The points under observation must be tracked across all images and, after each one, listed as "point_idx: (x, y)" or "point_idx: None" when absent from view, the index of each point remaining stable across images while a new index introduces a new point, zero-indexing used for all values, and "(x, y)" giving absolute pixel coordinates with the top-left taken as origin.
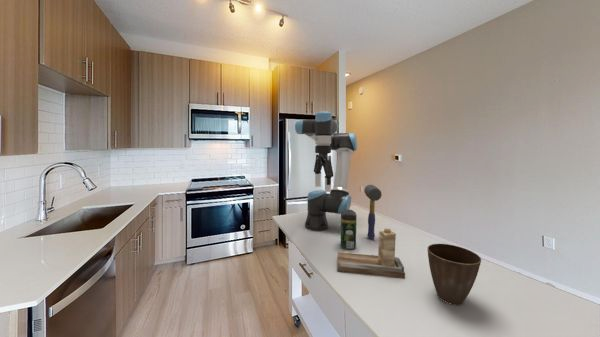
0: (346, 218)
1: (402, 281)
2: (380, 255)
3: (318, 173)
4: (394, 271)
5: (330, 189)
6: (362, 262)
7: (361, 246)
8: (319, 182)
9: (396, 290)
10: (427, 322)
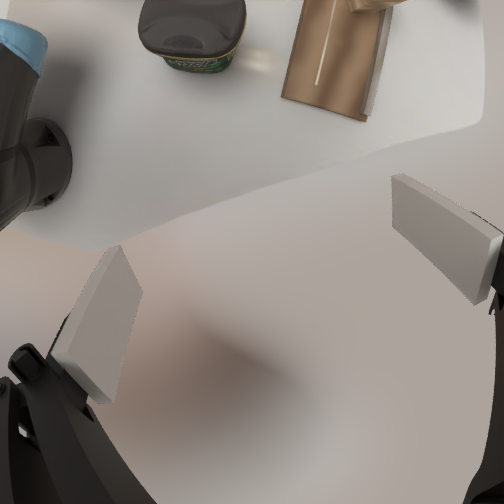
0: (238, 36)
1: None
2: (373, 6)
3: (67, 379)
4: None
5: (415, 183)
6: (348, 48)
7: None
8: (113, 283)
9: (423, 34)
10: (475, 49)
